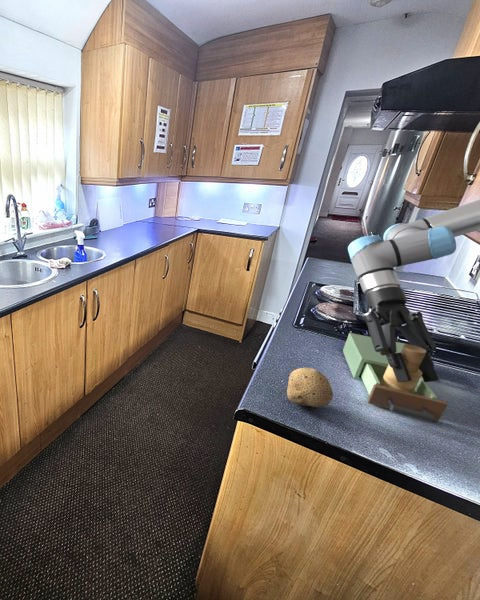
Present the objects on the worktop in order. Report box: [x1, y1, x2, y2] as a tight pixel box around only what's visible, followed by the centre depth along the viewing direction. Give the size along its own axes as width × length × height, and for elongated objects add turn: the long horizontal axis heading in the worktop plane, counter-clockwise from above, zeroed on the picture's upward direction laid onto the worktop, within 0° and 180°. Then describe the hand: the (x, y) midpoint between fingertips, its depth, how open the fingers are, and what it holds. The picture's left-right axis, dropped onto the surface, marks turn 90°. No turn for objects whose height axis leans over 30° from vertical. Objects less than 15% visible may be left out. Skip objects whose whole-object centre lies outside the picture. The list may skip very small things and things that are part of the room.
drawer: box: [360, 362, 449, 423], centre depth 80 cm, size 20×13×5 cm, turn 152°
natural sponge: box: [286, 367, 334, 408], centre depth 78 cm, size 9×9×10 cm
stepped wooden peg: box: [380, 343, 426, 393], centre depth 80 cm, size 6×6×12 cm
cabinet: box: [342, 332, 419, 381], centre depth 92 cm, size 17×14×7 cm
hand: (418, 381), depth 76 cm, fingers closed on stepped wooden peg, 6 cm apart
